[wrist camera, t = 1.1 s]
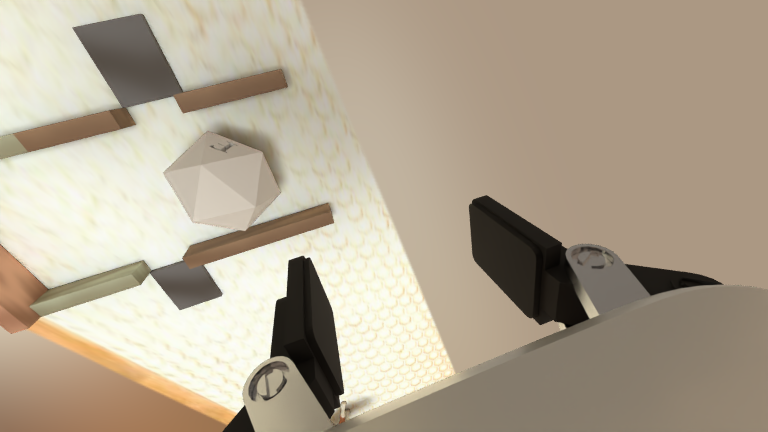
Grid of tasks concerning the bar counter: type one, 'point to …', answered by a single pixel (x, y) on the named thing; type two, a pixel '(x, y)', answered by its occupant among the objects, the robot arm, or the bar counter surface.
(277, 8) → the bar counter surface
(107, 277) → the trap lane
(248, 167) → the die
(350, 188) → the bar counter surface
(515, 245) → the robot arm
